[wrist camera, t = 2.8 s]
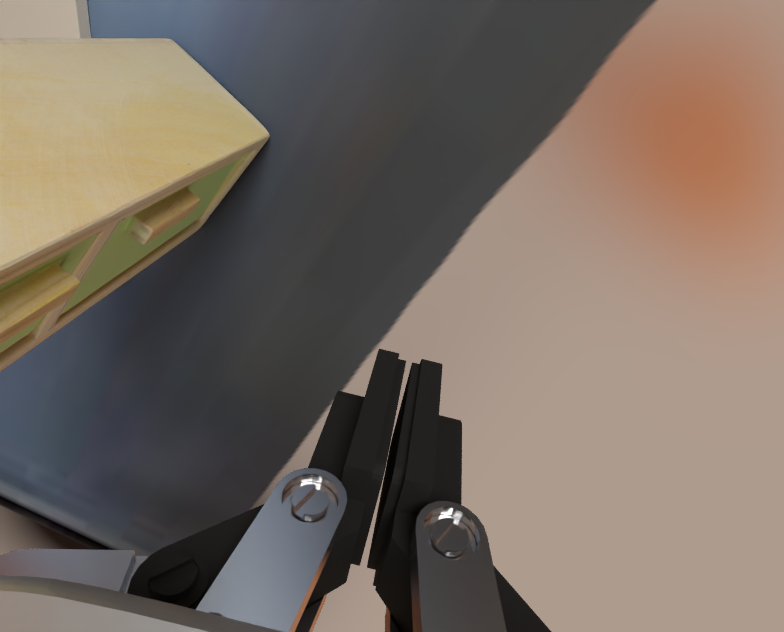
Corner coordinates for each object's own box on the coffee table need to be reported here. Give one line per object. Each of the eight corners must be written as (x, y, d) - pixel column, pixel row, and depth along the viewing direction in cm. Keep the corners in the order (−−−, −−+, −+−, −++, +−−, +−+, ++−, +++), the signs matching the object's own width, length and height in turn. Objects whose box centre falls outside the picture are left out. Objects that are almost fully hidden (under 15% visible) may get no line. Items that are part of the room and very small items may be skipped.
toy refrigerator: (209, 240, 29) (-208, 559, 11) (105, 152, 27) (-608, 363, 9) (285, 145, 26) (-141, 382, 8) (172, 36, 24) (-761, 4, 6)
